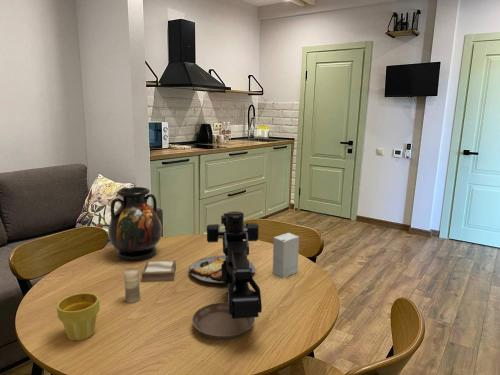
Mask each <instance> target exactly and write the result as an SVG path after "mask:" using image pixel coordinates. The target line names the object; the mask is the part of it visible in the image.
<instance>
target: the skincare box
mask: <svg viewBox="0 0 500 375" xmlns="http://www.w3.org/2000/svg"><path fill="white" fill-rule="evenodd" d="M272 243H273V245H272V246H273V247H272V248H273V250H272V253H273V254H272V274H274V275H276V276H278V277H280V278H282V279H284V278H287V277H289V276H291V275H294V274H297V273H298V272H299V271H298V270H299V251H300V250H299V249H300V236H298V235H295V234H294V233H293V234H292V233H291V232H287V233H283V234H280V235H277V236H274V237H273V242H272Z"/></svg>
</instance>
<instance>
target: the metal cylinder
mask: <svg viewBox="0 0 500 375" xmlns="http://www.w3.org/2000/svg"><path fill="white" fill-rule="evenodd" d="M139 271H140V270H139V268H137V267H129V268H126V269H125V270H124V271H123V275H124V291H125V302H126V303H129V304H134V303H137V302H140V300H141V294H140V293H141V290H140V289H141V288H140V274H139V273H140V272H139Z"/></svg>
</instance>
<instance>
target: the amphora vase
mask: <svg viewBox="0 0 500 375" xmlns="http://www.w3.org/2000/svg"><path fill="white" fill-rule="evenodd" d="M150 192H151V191H150V189H149V188H147V187H141V186H139V187H138V186H134V187H132V186H131V187H125V188H119V190H117V191H116V194H117V195H118V196H120V197H121V198H122V199H121V198H119V197H117V198H114V199H112V201H111V202H110V221H109V224H108V231H107V235H108V239H109V241H110V244H111V245H112V246H113V247H114V248H115V249H116V252H115V255H116V257H117V258H118V259H120V260H123V261H129V262H134V261H135V262H136V261H137V262H138V261H142V260H147V259H149V258H151V257H153V256H155V254H156V253H157V251H158V250H157V247H156V245H158V244H159V241H160V240H161V238H162V234H163V231H162V229H163V226H162V223H161V220H160V218H159V217H158V211H157V210H158V207H157V206H158V205H157V204H158V203H157V198H156V196H155V195H154V194H152V193H150ZM149 198H151V199H152V207H151V206H150V205H149V204H148V200H149ZM118 202H119V203H120V205H119V208H118V209H117V210H116V211H115V205H116V203H118Z"/></svg>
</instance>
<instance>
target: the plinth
mask: <svg viewBox="0 0 500 375" xmlns="http://www.w3.org/2000/svg"><path fill="white" fill-rule="evenodd" d="M176 270H177V261H176V260H162V261H161V260H160V261H159V260H157V261H156V260H155V261H146V263H145V265H144V268H143V270H142V273H141V277H142V278H141V279H142V283H146V282H147V283H148V282H149V283H150V282H169V281H170V282H172V281H175V277H176Z"/></svg>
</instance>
